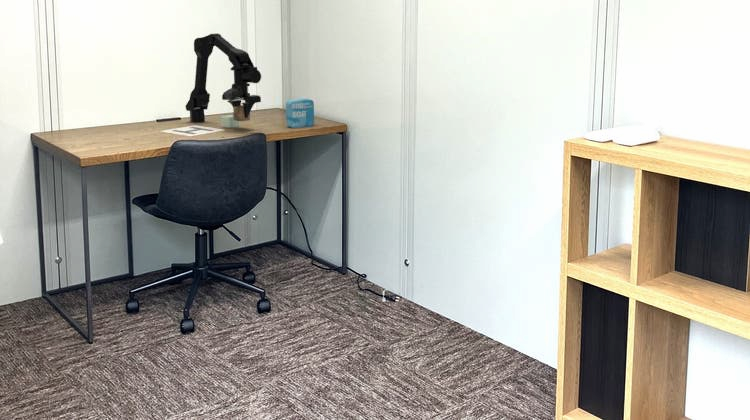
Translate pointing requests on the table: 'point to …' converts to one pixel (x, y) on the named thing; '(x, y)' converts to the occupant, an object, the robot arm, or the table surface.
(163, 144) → the table surface
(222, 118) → the sage cube
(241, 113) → the walnut block
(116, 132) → the table surface
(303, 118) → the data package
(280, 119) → the table surface
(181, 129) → the board
